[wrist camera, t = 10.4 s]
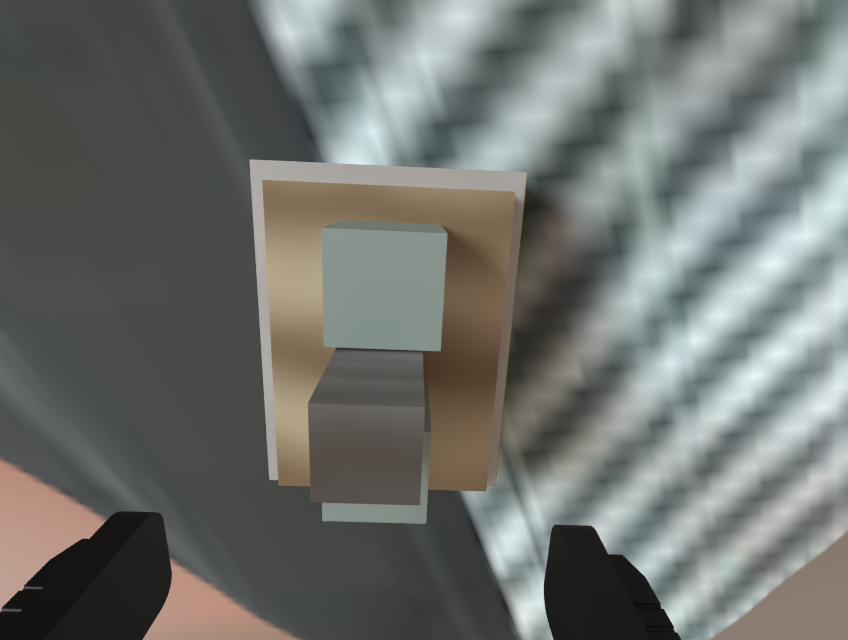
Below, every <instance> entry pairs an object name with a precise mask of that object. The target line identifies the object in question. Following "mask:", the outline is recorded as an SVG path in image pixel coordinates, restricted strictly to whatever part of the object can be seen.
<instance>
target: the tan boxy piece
mask: <svg viewBox="0 0 848 640" xmlns="http://www.w3.org/2000/svg"><path fill="white" fill-rule="evenodd" d="M262 186H263V205H264V223H265V242H266V261H267V280H268V298H269V317H270V336H271V354H272V373H273V392H274V410H275V429H276V448H277V467H278V485H285V486H310V494H311V503H345V504H382V505H419V506H420V495H421V475H422V455H423V435H424V415H425V397H424V386H428V388H429V405H430V421H431V443H430V461H429V479H428V490H463V491H486V485H487V475H488V464H489V454H490V444H491V434H492V424H493V413H494V403H495V393H496V383H497V373H498V362H499V352H500V342H501V332H502V322H503V311H504V301H505V291H506V281H507V271H508V260H509V250H510V240H511V230H512V220H513V209H514V199H515V192H513V191H491V190H470V189H449V188H428V187H407V186H385V185H364V184H343V183H322V182H301V181H279V180H262ZM341 220H350V221H372V222H394V223H417V224H439V225H442V227H443V228H444V229H445V231H446V232H447V233H448V235H447V251H446V268H445V285H444V302H443V319H442V336H441V351H417V350H390V349H363V348H336V347H324V334H323V279H322V228H323V227H325V226H328V225H331V224H333V223H336V222H338V221H341Z"/></svg>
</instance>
